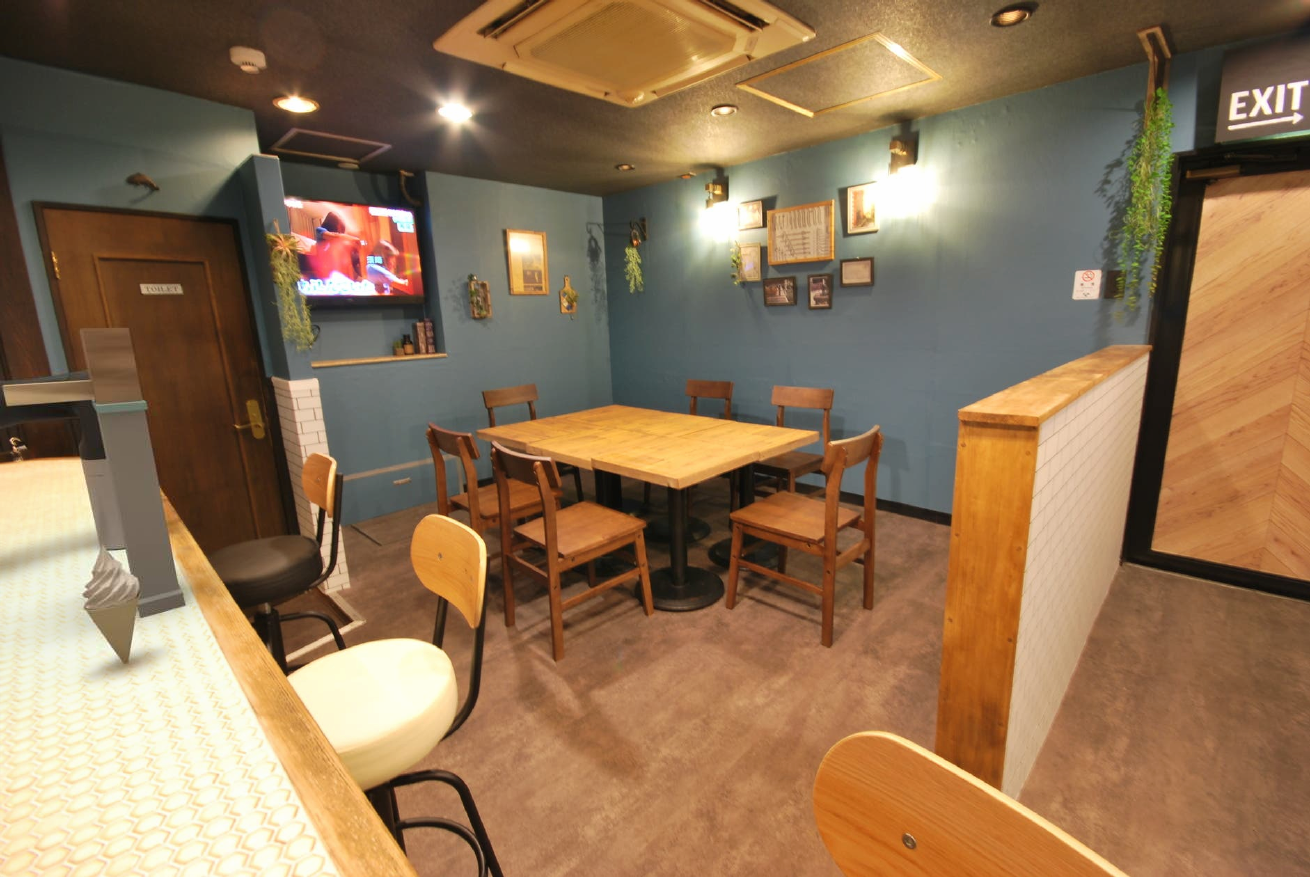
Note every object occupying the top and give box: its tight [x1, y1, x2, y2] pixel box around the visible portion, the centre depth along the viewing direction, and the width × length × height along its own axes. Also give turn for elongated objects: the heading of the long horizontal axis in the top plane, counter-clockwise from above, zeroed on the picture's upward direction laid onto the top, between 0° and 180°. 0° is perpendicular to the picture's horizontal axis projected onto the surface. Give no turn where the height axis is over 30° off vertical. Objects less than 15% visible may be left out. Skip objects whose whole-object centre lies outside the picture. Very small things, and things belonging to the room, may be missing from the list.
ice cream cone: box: [81, 545, 140, 664], centre depth 69 cm, size 5×5×15 cm
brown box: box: [2, 327, 144, 406], centre depth 78 cm, size 10×13×10 cm
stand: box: [92, 399, 186, 619], centre depth 85 cm, size 14×5×30 cm, turn 46°
